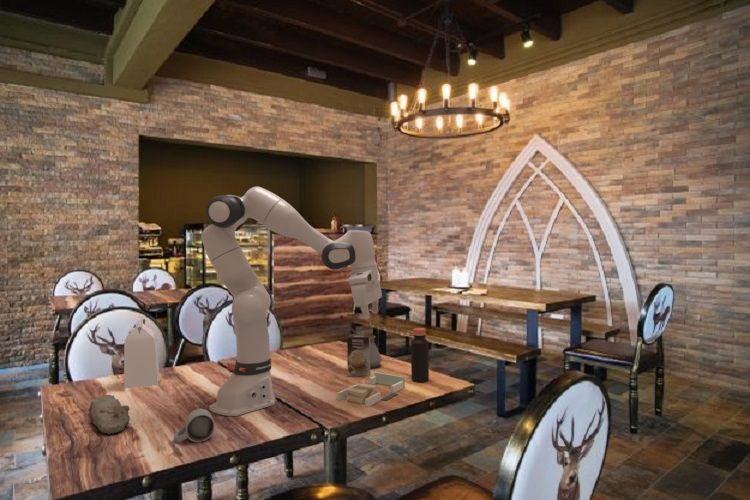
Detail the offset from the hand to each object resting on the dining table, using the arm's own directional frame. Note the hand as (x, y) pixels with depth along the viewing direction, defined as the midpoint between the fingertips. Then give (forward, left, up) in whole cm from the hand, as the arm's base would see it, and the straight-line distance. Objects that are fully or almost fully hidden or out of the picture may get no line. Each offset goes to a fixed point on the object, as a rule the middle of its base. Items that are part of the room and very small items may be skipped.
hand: (371, 315), depth 163 cm
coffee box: (+23, +22, -29) cm, 43 cm away
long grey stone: (-56, +64, -30) cm, 90 cm away
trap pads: (+8, +4, -29) cm, 31 cm away
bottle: (+29, -3, -29) cm, 41 cm away
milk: (-32, +87, -29) cm, 97 cm away
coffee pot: (+37, +31, -29) cm, 57 cm away
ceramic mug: (-52, +26, -30) cm, 65 cm away
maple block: (0, +4, -30) cm, 30 cm away
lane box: (+6, +4, -29) cm, 30 cm away
